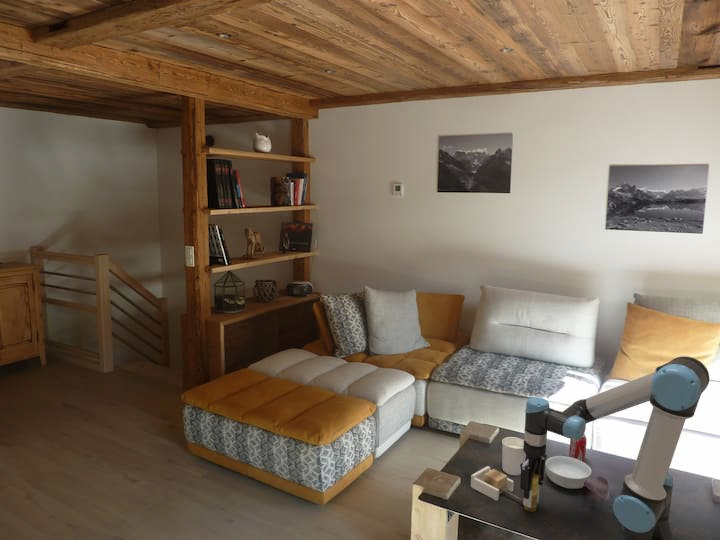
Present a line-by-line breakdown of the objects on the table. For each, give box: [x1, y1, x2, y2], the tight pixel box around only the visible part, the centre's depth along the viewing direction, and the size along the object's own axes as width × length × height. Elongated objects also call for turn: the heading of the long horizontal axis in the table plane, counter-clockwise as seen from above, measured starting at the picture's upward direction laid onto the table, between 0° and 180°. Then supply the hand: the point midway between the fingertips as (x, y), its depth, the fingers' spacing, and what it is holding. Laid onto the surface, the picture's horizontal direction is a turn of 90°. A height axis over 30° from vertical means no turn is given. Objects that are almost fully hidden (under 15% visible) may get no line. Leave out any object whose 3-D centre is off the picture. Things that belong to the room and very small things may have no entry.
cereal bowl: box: [545, 455, 593, 490], centre depth 209 cm, size 17×17×7 cm
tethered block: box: [484, 468, 539, 513], centre depth 198 cm, size 20×6×13 cm, turn 41°
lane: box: [470, 465, 515, 502], centre depth 204 cm, size 12×10×5 cm
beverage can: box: [568, 433, 587, 463], centre depth 225 cm, size 6×6×12 cm
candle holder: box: [501, 436, 526, 476], centre depth 218 cm, size 10×10×12 cm
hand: (530, 503), depth 192 cm, fingers closed on tethered block, 4 cm apart
